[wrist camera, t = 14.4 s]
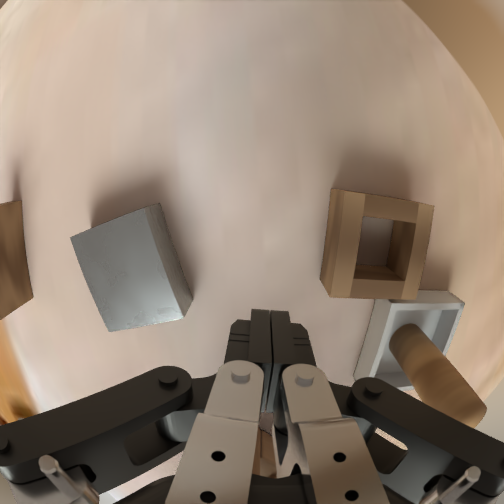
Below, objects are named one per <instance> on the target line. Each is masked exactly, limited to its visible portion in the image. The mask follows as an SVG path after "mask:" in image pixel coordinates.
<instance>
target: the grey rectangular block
mask: <svg viewBox="0 0 504 504" xmlns="http://www.w3.org/2000/svg"><path fill="white" fill-rule="evenodd" d="M70 238H71V241H72V244H73V247H74V250H75V253H76V256H77V259H78V262H79V264H80V267H81V270H82V272H83V275H84V277H85V280H86V282H87V285H88V287H89V290H90V292H91V294H92V297H93V299H94V301H95V303H96V306H97V308H98V310H99V312H100V314H101V317H102V319H103V321H104V323H105V325H106V327H107V329H108V331H109V332H113V331H119V330H125V329H130V328H136V327H142V326H147V325H152V324H158V323H163V322H168V321H173V320H178V319H183V318H184V317H185V315H186V313H187V311H188V309H189V307H190V305H191V303H192V301H193V298H192V296H191V293H190V290H189V288H188V285H187V282H186V280H185V277H184V274H183V271H182V269H181V266H180V263H179V260H178V257H177V254H176V251H175V249H174V246H173V243H172V240H171V237H170V234H169V231H168V228H167V224H166V221H165V218H164V215H163V212H162V209H161V205H160V203H159V204H155V205H152V206H148V207H145V208H142V209H139V210H137V211H134V212H131V213H129V214H126V215H123V216H121V217H118V218H116V219H113V220H111V221H108V222H106V223H103V224H101V225H98V226H96V227H93V228H91V229H89V230H86V231H84V232H82V233H79V234H77V235H75V236H72V237H70Z"/></svg>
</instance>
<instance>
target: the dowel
mask: <svg viewBox="0 0 504 504" xmlns="http://www.w3.org/2000/svg"><path fill="white" fill-rule="evenodd" d="M389 349H390V351H391V353H392V354H393V356H394V357H395V359H396V361H397V362H398V364H399V365H400V367H401V368H402V370H403V371H404V373H405V374H406V376H407V378H408V379H409V381H410V382H411V384H412V386H413V387H414V389H415V390H416V392H417V394H418V395H419V397H420V398H421V400H422V402H423V403H425V404H427V405H429V406H431V407H432V408H434V409H436V410H438V411H440V412H442V413H444V414H446V415H448V416H450V417H452V418H454V419H456V420H458V421H460V422H462V423H464V424H466V425H468V426H470V427H472V428H475V427H476V426H477V425H478V424H479V423H480V421H481V420H482V419H483V417H484V415H485V413H486V410H487V407H486V405H485V404H484V403H483V402H482V400H481V399H480V398H479V397H478V395H477V394H476V393H475V391H474V390H473V389H472V388H471V387H470V385H469V384H468V383H467V382H466V380H465V379H464V378H463V377H462V376H461V374H460V373H459V372H458V371H457V370H456V368H455V367H454V366H453V365H452V364H451V363H450V361H449V360H448V359H447V358H446V357H445V356H444V355H443V353H442V352H441V351H440V350H439V349H438V348H437V347H436V345H435V344H434V343H433V342H432V341H431V340H430V339H429V338H428V337H427V335H426V334H425V333H424V332H423V331H422V330H421V329H420V328H419V327H418V326H417V325H416V324H411V323H410V324H405V325H403V326H401V327H400V328H398V329H397V330H396V331H395V332H394V334H393V335H392V337H391V338H390V341H389Z"/></svg>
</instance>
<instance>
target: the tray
mask: <svg viewBox="0 0 504 504" xmlns="http://www.w3.org/2000/svg"><path fill="white" fill-rule="evenodd" d="M464 305H465V303H464V302H463V301H462V300H460V299H459V298H458V297H456V296H455V295H453V294H452V293H451V292H449V291H431V290H418V293H417V297H416V300H402V299H375V304H374V308H373V312H372V315H371V319H370V323H369V327H368V330H367V334H366V337H365V341H364V344H363V348H362V351H361V354H360V357H359V360H358V364H357V367H356V370H355V373H354V376H353V377H354V379H355V381H356V380H358V379H360V378H364V377H374V378H378V379H381V380H383V381H385V382H387V383H388V384H390V385H392V386H394V387H396V388H397V389H399V390H401V391H407V390H413V389H414V387H413V386H412V384H411V382H410V381H409V379H408V378H407V376H406V374H405V373H404V371H403V370H402V368H401V367H400V365H399V364H398V362H397V361H396V359H395V357H394V356H393V354H392V353H391V351H390V349H389V341H390V338H391V337H392V335H393V334H394V332H395V331H396V330H397V329H398V328H400V327H401V326H403V325H405V324H410V323H411V324H416V325H417V326H418V327H419V328H420V329H421V330H422V331H423V332H424V333H425V334H426V335H427V337H428V338H429V339H430V340H431V341H432V342H433V343H434V344H435V345H436V347H437V348H438V349H439V350H440V351H441V352H442V353H443V355H444V356H446V353H447V351H448V348H449V346H450V344H451V341H452V339H453V336H454V333H455V331H456V328H457V325H458V322H459V320H460V317H461V314H462V311H463V308H464Z"/></svg>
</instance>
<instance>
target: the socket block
mask: <svg viewBox="0 0 504 504" xmlns="http://www.w3.org/2000/svg"><path fill="white" fill-rule="evenodd" d="M433 212H434V206H432V205H428V204H423V203H419V202H414V201H409V200H404V199H398V198H392V197H386V196H380V195H373V194H367V193H360V192H353V191H345V190H338V189H331V195H330V204H329V214H328V222H327V231H326V239H325V247H324V254H323V261H322V268H321V275H320V280H321V282H322V284H323V286H324V287H325V289H326V291H327V293H328V295H329V297H335V298H361V299H402V300H416V297H417V293H418V289H419V285H420V281H421V277H422V273H423V268H424V264H425V259H426V254H427V249H428V244H429V238H430V232H431V226H432V219H433ZM363 216H368V217H375V218H383V219H390V220H394V225H393V231H392V238H391V244H390V249H389V255H388V260H387V266H372V265H358V264H356V259H357V253H358V247H359V241H360V234H361V227H362V219H363Z"/></svg>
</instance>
